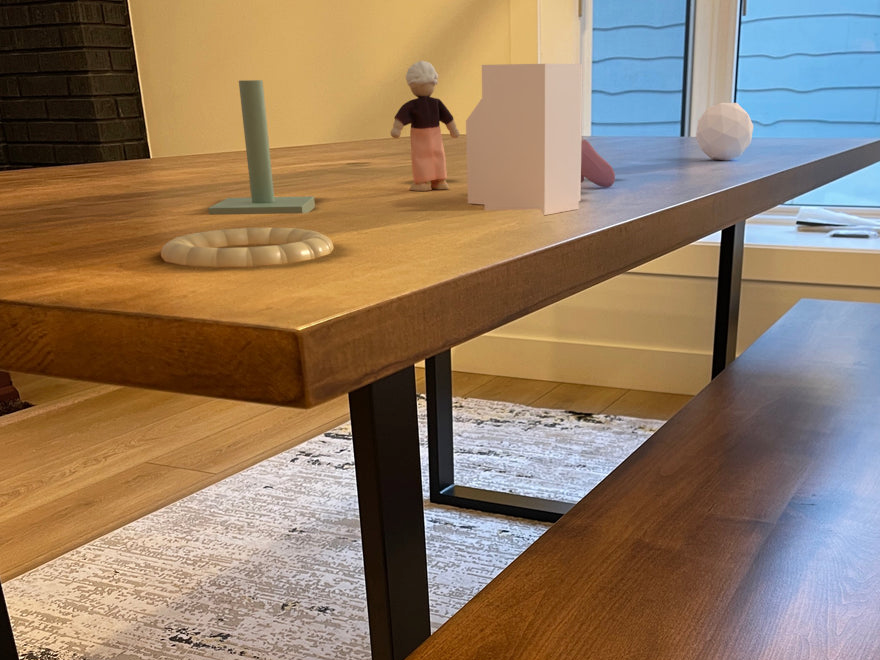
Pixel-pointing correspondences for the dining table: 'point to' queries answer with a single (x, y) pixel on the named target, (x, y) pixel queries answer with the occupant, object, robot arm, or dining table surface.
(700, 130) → the geometric ball
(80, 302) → the dining table surface
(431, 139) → the grandmother figurine
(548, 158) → the white angular block
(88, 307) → the dining table surface
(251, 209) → the green peg stand
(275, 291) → the dining table surface
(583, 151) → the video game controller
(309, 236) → the bracelet
